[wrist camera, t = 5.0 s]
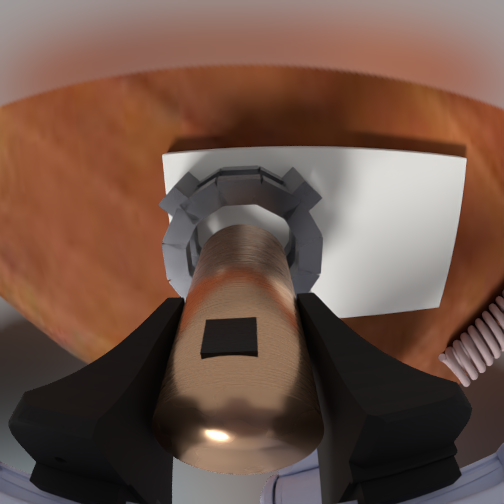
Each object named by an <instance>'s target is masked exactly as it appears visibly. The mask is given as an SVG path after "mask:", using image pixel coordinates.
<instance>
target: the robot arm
mask: <svg viewBox="0 0 504 504" xmlns="http://www.w3.org/2000/svg"><path fill="white" fill-rule="evenodd" d="M184 304H185V300H184V297H183V298H167V299H166V300H165V301H164V302H163V303H162V304H161V305H160V306H159V307H158V308H157V309H156V310H155V311H154V312H153V313H152V314H151V315H150V316H149V317H148V318H147V319H146V320H145V321H144V322H143V323H142V324H141V325H140V326H139V327H138V328H137V329H136V330H134V331H133V332H132V333H131V334H130V335H129V336H128V337H126V338H125V339H124V340H123V341H122V342H121V343H119V344H118V345H117V346H116V347H114V348H113V349H112V350H110V351H109V352H107V353H106V354H105V355H103V356H102V357H100V358H99V359H97V360H95V361H94V362H92V363H90V364H89V365H87V366H85V367H84V368H82V369H80V370H78V371H77V372H75V373H73V374H71V375H69V376H67V377H64V378H62V379H60V380H58V381H55V382H53V383H50V384H48V385H45V386H42V387H39V388H36V389H33V390H30V391H27V392H25V393H24V394H23V396H22V398H21V400H20V402H19V403H18V405H17V407H16V409H15V411H14V412H13V414H12V416H11V418H10V420H9V428H10V431H11V433H12V435H13V436H14V437H15V439H16V440H17V441H18V443H19V444H20V445H21V446H22V447H23V448H24V449H25V450H26V451H27V453H28V454H29V455H30V456H31V457H32V458H33V459H34V460H35V461H36V465H35V467H34V469H33V472H32V474H28V473H26V472H23V471H21V470H18V469H16V468H14V467H11V466H9V465H7V464H4V463H2V462H0V504H172V469H173V456H172V455H171V454H169V453H168V452H167V451H166V450H164V449H163V448H162V446H161V445H160V444H159V443H158V441H157V440H156V438H155V436H154V434H153V430H152V420H153V416H154V412H155V408H156V404H157V400H158V396H159V393H160V389H161V385H162V381H163V378H164V374H165V370H166V367H167V363H168V359H169V356H170V352H171V349H172V345H173V342H174V338H175V335H176V331H177V328H178V324H179V321H180V318H181V314H182V311H183V307H184ZM297 305H298V309H299V313H300V317H301V322H302V326H303V331H304V335H305V339H306V344H307V348H308V353H309V357H310V362H311V366H312V371H313V376H314V380H315V385H316V390H317V394H318V399H319V404H320V409H321V414H322V419H323V423H324V436H323V439H322V441H321V443H320V445H319V446H318V447H317V448H316V450H315V451H313V452H312V453H311V454H310V455H309V456H307V457H306V458H304V459H303V460H301V461H299V462H297V463H295V464H293V465H291V466H288V467H285V468H283V469H279V470H278V475H273V476H271V477H270V478H269V479H268V480H267V482H266V484H265V486H264V488H263V490H262V493H261V497H260V504H504V443H503V444H502V445H501V446H500V447H499V449H498V450H497V452H496V453H494V454H492V455H490V456H488V457H485V458H484V459H481V460H479V461H477V462H475V463H473V464H470V465H468V466H465V467H463V468H461V469H459V467H458V464H457V462H456V460H455V457H454V455H456V453H457V448H456V446H455V444H454V441H455V440H456V438H457V437H458V436H459V434H460V433H461V431H462V430H463V429H464V427H465V426H466V424H467V422H468V421H469V419H470V416H471V412H472V407H471V404H470V403H469V401H468V399H467V397H466V396H465V394H464V392H463V391H462V389H461V388H460V386H459V385H458V383H457V382H453V381H450V380H446V379H443V378H440V377H437V376H433V375H430V374H428V373H425V372H423V371H420V370H418V369H415V368H413V367H411V366H409V365H406V364H404V363H402V362H400V361H399V360H397V359H395V358H393V357H391V356H389V355H387V354H386V353H384V352H382V351H381V350H379V349H378V348H376V347H375V346H373V345H372V344H370V343H369V342H367V341H366V340H364V339H363V338H362V337H360V336H359V335H358V334H357V333H356V332H354V331H353V330H352V329H351V328H349V327H348V326H347V325H346V324H345V323H344V322H343V321H342V320H341V319H340V318H338V317H337V316H336V315H335V314H334V313H333V312H332V311H331V310H330V309H329V308H328V307H327V306H326V305H325V303H324V302H323V301H322V300H321V299H320V298H319V297H318V296H317V295H316V294H315V293H314V292H313V293H297Z"/></svg>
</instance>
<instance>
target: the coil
mask: <svg viewBox="0 0 504 504" xmlns="http://www.w3.org/2000/svg"><path fill="white" fill-rule="evenodd" d="M502 295H503V297H504V290H503V291H502ZM496 303H497V305H498V306H499V308H500V309H501V310H502V311H503V312H504V299H503V298H502V297H501V296H498V297H496ZM499 308H498V307H497V306H496V305H495V304H490V305H489V310H490V312H491V313H492V314H493V315H494V317H495V318H496V319H497V320H498V322H499V323H500V325H501V326H502V327H501V326H500V325H499V324H498V323H497V322H496V321H495V320H494V319H493V317H492V316H491V315H490V314H489V312H487V311H484V312H483V313H482V317H483V319H484V320H485V322H486V323H487V324H488V326H489V327H490V329H491V330H492V331H491V330H490V329H489V328H488V326H487V325H486V324H485V323H484V322H483V321H482V320H481V319H480V318H477V319H476V320H475V325H476V327H477V328H478V330H479V331H480V332H479V331H478V330H477V329H476V328H475V327H474V326H469V327H468V333H469V335H470V336H469V335H468V334H467V333H462V334H461V336H460V339H461V341H462V342H461V341H459V340H455V341H454V342H453V348H452V347H447V348H446V350H445V354H440V355H439V360H440V361H442V362H444V363H445V364H446V365H447V366H448V367H449V368H450V369H451V370H452V371H453V372H454V373H455V375H456V376H457V377H458V378H459V380H460V381H461V383H462V384H463V385H464V386H465V387H467V386H469V384H470V380H469V379H468V377H467V375H466V374H465V372H464V371H463V369H464V370H465V371H466V373H467V374H468V375H469V376H470V378H471V379H472V380H475V379H477V377H478V373H477V372H476V370H475V368H476V369H477V370H478V371H479V372H480V373H483V372H484V371H485V369H486V367H485V364H486V365H488V366H490V365H492V364H493V358H492V357H494V358H499V357H500V355H501V352H500V350H502V351H504V315H503V313H502V312H501V311H500V310H499ZM484 363H485V364H484ZM474 367H475V368H474ZM462 368H463V369H462Z"/></svg>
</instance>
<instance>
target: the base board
mask: <svg viewBox="0 0 504 504" xmlns="http://www.w3.org/2000/svg"><path fill="white" fill-rule="evenodd" d="M162 157H163V168H164V178H165V187H166V195H167V194H168V193H169V191H170V190H171V189H172V188H173V186H174V185H175V184H176V183H177V182H178V181H179V180H180V179H181V178H182V177H183V176H184V175H185V174H186V173H187V172H190V173H191V174H192V175H193V176H194V177H196V178H197V179H198V180H199V181H201V180H202V179H204V178H205V177H207V176H209V175H210V174H212V173H213V172H215V171H216V170H218V169H219V168H221V169H222V168H223V167H233V166H257V165H258V169H259V167H260V166H261V167H263V168H265V169H267V170H269V171H270V172H272V173H274V174H276V175H278V176H280V177H283V176H284V175H285V174H286V173H287V172H288V171H289V170H290V169H291V168H292V167H294V168H295V169H296V170H297V171H298V172H299V173H300V174H301V175H302V176H303V177H304V178H305V179H306V180H307V181H308V182H309V183H310V184H311V185H312V186H313V188H314V189H315V190H316V191H317V192H318V193H319V194H320V196H321V197H322V199H321V200H320V201H319V202H318V203H317V204H316V205H315V206H314V207H313V208H312V209H311V210H310V211H309V212H310V214H311V216H312V218H313V219H314V221H315V223H316V225H317V227H318V228H319V230H320V232H321V234H322V237H323V249H322V265H321V274H319V275H320V277H319V278H318V280H317V281H316V283H315V284H314V286H313V287H312V288H311V292H312V293H313V292H314V293H315V294H316V295H317V296H318V297H319V298H320V299H321V300H322V301H323V302H324V303H325V305H326V306H327V307H328V308H329V309H330V310H331V311H332V312H333V313H334V314H335V315H336V316H337V317H338V318H347V317H358V316H369V315H378V314H388V313H396V312H405V311H413V310H421V309H428V308H436V307H439V305H440V301H441V298H442V294H443V290H444V287H445V283H446V279H447V275H448V271H449V266H450V262H451V258H452V253H453V248H454V244H455V239H456V233H457V228H458V222H459V216H460V210H461V203H462V196H463V189H464V180H465V171H466V160H467V158H463V157H460V156H455V155H447V154H438V153H429V152H418V151H407V150H394V149H380V148H361V147H333V146H268V147H239V148H220V149H205V150H192V151H180V152H169V153H165V154H163V155H162ZM172 218H173V217H172V216H171V215H170V214H169V221H170V222H171V220H172ZM237 224H248V225H254V226H258V227H260V228H263V229H265V230H266V231H268V232H270V233H271V234H272V235H273V236H274V237H276V238H277V240H278V241H279V242H280V244H281V245H282V247H283V249H284V248H285V246H286V244H287V243H288V241H289V226H288V224H287V223H286V221H285V220H284V219H283V218H281V217H279V216H278V215H276V214H274V213H272V212H270V211H268V210H266V209H264V208H262V207H260V206H258V205H234V206H223V207H221V208H220V209H218V210H217V211H215V212H213V213H212V214H210V215H209V216H207V217H206V218H204V219H202V220H201V221H199V222H198V223H197V230H198V240H199V245H200V246H201V248H203V246H204V244H205V243H206V241H207V240H208V239H209V238H210V237H211V236H212V235H213V234H214V233H215V232H217V231H219V230H220V229H222V228H225V227H227V226H231V225H237Z"/></svg>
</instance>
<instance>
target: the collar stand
mask: <svg viewBox="0 0 504 504" xmlns="http://www.w3.org/2000/svg"><path fill="white" fill-rule="evenodd" d="M321 199H322V197H321V196H320V194H319V193H318V192H317V191H316V190H315V189H314V188H313V186H312V185H311V184H310V183H309V182H308V181H307V180H306V179H305V178H304V177H303V176H302V175H301V174H300V173H299V172H298V171H297V170H296V169H295V168H294V167H292V168H291V169H290V170H289V171H288V172H287V173H286V174H285V175H284V176H283V177H280V176H278V175H276V174H274V173H272V172H270V171H269V170H267V169H265V168H263V167H261V166H260V167H259V169H258V165H257V166H233V167H223V168H222V169H221V168H219V169H218V170H216V171H215V172H213V173H212V174H210V175H209V176H207V177H205V178H204V179H202V180H201V181H199V180H198V179H197V178H196V177H194V176H193V175H192V174H191V173H190V172H187V173H186V174H185V175H184V176H183V177H182V178H181V179H180V180H179V181H178V182H177V183H176V184H175V185H174V186H173V188H172V189H171V190H170V191H169V193H168V194H167V195H166V196H165V197H164V199H163V200H162V201H161V202H160V204H159V206H160V207H161V208H163V209H164V210H165V211H166V212H167V213H169V214H170V215H171V216H172V217H173V218H172V220H171V222H170V225H169V227H168V229H167V232H166V234H165V236H164V238H163V241H162V242H163V243H162V250H163V256H164V262H165V268H166V274H167V280H169V283H170V284H171V286H172V287H173V288H174V289H175V290H176V292H177V293H178V294H179V295H180V298H183V297H184V300H185V301H186V297H187V294H188V291H189V288H190V284H191V281H192V278H193V275H194V272H195V268H196V265H197V262H198V259H199V256H200V253H201V250H202V248H201V246H200V245H199V240H198V230H197V223H198V222H199V221H201V220H202V219H204V218H206V217H207V216H209V215H210V214H212V213H213V212H215V211H217V210H218V209H220V208H221V207H223V206H234V205H258V206H260V207H262V208H264V209H266V210H268V211H270V212H272V213H274V214H276V215H278V216H279V217H281V218H283V219H284V220H285V221H286V223H287V224H288V226H289V241H288V243H287V244H286V246H285V248H284V251H285V255H286V259H287V263H288V267H289V271H290V275H291V279H292V284H293V288H294V292H295V296H296V300H297V293H312V292H311V288H312V287H313V286H314V284H315V283H316V281H317V280H318V278H319V277H320V275H319V274H321V265H322V249H323V237H322V234H321V232H320V230H319V228H318V227H317V225H316V223H315V221H314V219H313V218H312V216H311V214H310V212H309V211H310V210H311V209H312V208H313V207H314V206H315V205H316V204H317V203H318V202H319V201H320V200H321Z"/></svg>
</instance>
